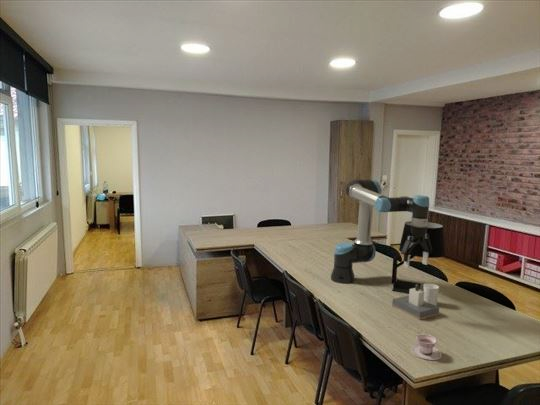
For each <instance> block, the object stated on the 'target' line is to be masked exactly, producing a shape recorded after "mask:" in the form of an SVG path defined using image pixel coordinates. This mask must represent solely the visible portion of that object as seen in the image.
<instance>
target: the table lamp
mask: <svg viewBox="0 0 540 405" xmlns="http://www.w3.org/2000/svg"><path fill="white" fill-rule="evenodd" d="M411 223H412V220H411V221H409V220H408V221H405V222H404V226H403V230H402V235H401V240H400V244H399V247H398V251H397V252H396V254H395V255H394V256H393V258H392V269H391V284H392V290H391V291H392V292H396V293H400V294H401V293H402V294H408V295H409V291H410V289H412V288H416V284H418V285H419V290H421V284H422V283H419V282H415V281H408V280H404V279H403V280H401V279H397V273H398V268H399V267H401V266H402V265H404V259H403V260H402V261H400V262H398V261H399V260H398V259H399V252H401V251H402V249H403V247H404V244H405V242H406V239H407V236H412V233H411V226H412V224H411ZM426 227H427V233H426V234H429V239H430V243H431V246H432V251H431V253H429V257H428V259H436V258H437V259H438V258H443V257H445V256H446V251H445V250H446V247H445V236H444V231H445V230H444V225H442V224H440V223H437V222H432V221H431V222H430V221H427V226H426ZM423 252H425V251H424V249H423V247H422V245H421V244H416V245H415V246H414V248H413V249H412V251H411V252H410V254H409V256H410V260H411V259H414V258H415V257H419V258H423Z"/></svg>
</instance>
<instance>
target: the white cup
mask: <svg viewBox="0 0 540 405" xmlns="http://www.w3.org/2000/svg"><path fill="white" fill-rule="evenodd" d="M422 287H423V290H422V291H424V301H426V302H429V303H431V304H433V305H435V306H437V304H438V298H439V294H440V293H439V292H440V286H439V285H437V284H435V283H424V284H423V286H422Z"/></svg>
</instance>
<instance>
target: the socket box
mask: <svg viewBox="0 0 540 405" xmlns="http://www.w3.org/2000/svg"><path fill="white" fill-rule="evenodd" d="M392 307H393V308H395V309H397V310H399V311H401V312H402V313H405V314H407V315H409V316H411V317H413V318H414V319H415V318H416V319H417V320H418V321H419V320H424V319H428V318H430V317H435V316H439V315H440V307H439V306H437V305H433V304H431V303H429V302H426V301H424V303H423V305H422V306H418V307H417V306H415V305H413V304H411V303H409V295H404V296H400V297H395V298H392Z"/></svg>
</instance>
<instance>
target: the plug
mask: <svg viewBox="0 0 540 405" xmlns="http://www.w3.org/2000/svg"><path fill="white" fill-rule="evenodd" d="M408 296H409V303H411V304H413V305H415V306H417V307H418V306H422V305H423V303H424V291H423V290H421V289H419V285H418V284H416V288H412V289H410V291H409V294H408Z"/></svg>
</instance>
